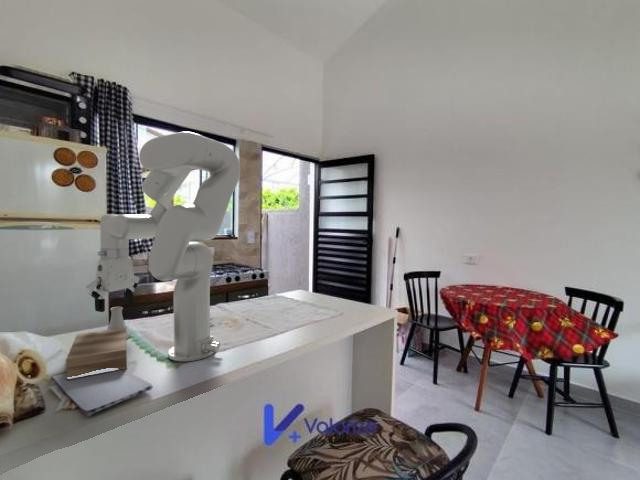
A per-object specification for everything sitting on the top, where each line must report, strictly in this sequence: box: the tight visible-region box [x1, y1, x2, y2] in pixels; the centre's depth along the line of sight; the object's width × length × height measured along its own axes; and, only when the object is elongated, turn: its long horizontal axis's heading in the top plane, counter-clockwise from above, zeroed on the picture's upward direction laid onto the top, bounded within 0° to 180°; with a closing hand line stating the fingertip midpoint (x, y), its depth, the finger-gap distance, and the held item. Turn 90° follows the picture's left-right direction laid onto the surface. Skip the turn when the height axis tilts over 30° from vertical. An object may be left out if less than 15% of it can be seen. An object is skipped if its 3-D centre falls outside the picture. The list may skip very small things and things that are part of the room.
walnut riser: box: [65, 327, 128, 378], centre depth 86 cm, size 20×12×5 cm, turn 31°
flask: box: [106, 306, 132, 340], centre depth 102 cm, size 7×7×10 cm
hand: (114, 307), depth 102 cm, fingers open, 9 cm apart
